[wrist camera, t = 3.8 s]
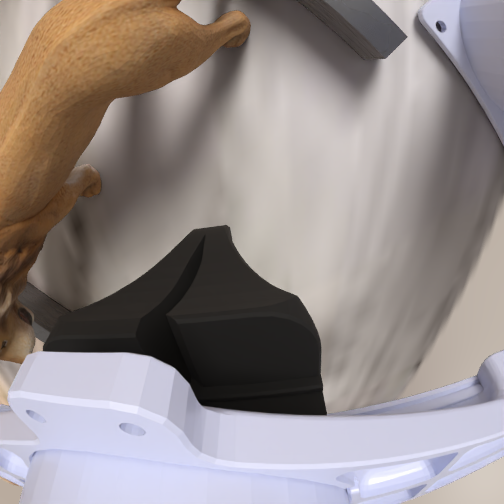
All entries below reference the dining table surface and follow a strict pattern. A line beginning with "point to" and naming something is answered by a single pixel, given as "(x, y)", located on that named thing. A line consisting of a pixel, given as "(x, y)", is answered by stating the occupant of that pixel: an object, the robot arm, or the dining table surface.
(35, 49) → the lion figurine
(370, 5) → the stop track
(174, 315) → the robot arm
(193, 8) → the dining table surface
